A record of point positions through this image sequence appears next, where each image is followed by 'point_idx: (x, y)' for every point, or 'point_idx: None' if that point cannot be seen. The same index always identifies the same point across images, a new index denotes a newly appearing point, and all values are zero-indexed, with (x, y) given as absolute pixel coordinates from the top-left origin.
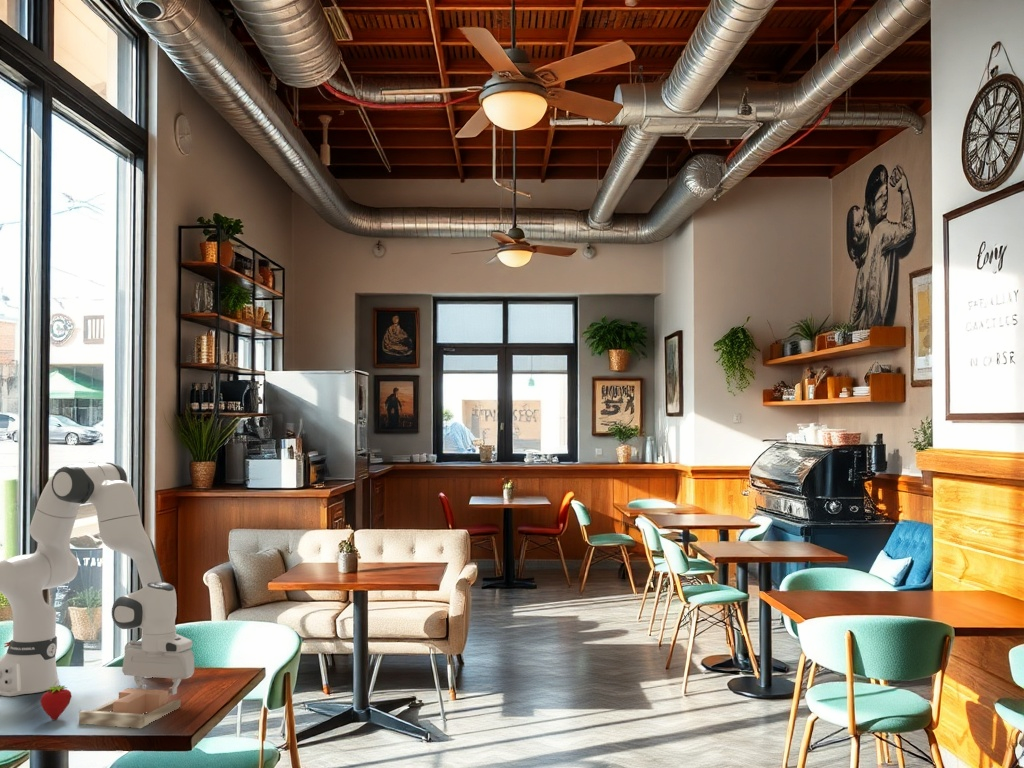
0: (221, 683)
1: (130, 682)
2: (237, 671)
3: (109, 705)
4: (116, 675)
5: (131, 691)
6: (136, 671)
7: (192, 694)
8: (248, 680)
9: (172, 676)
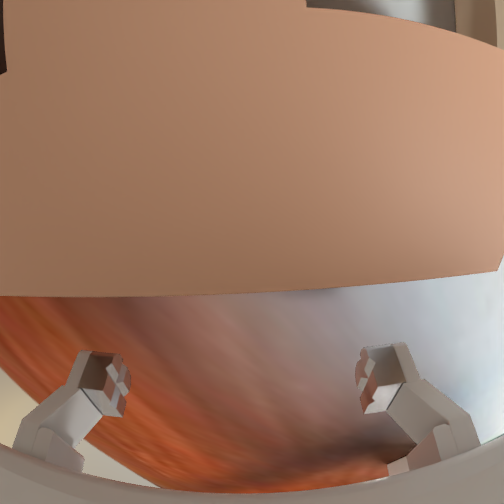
0: (180, 468)
1: None
2: None
3: (491, 16)
4: (498, 420)
5: (396, 117)
6: (476, 494)
7: (167, 415)
8: (136, 473)
9: (10, 465)
